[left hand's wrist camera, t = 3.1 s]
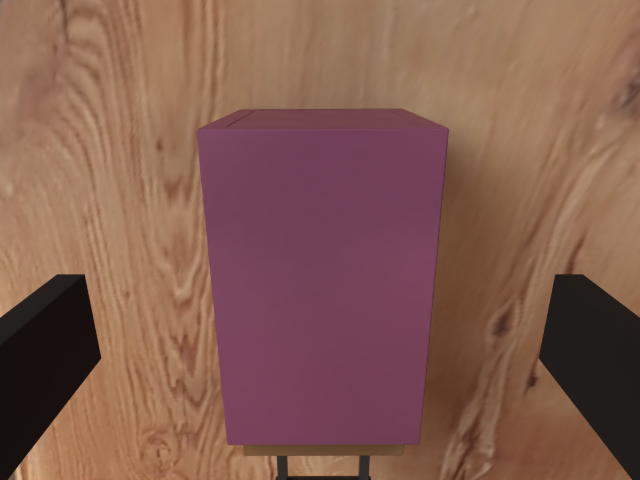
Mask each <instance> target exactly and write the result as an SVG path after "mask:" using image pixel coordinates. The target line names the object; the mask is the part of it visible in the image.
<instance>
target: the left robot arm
mask: <svg viewBox="0 0 640 480" xmlns="http://www.w3.org/2000/svg"><path fill="white" fill-rule="evenodd" d="M100 359H101V354H100V349H99V344H98V339H97V334H96V329H95V324H94V319H93V314H92V309H91V304H90V299H89V294H88V289H87V284H86V279H85V274H57V275H56V276H54V277H53V278H52V279H51V280H49V281H48V282H47V283H45V284H44V285H43V286H41V287H40V288H39V289H37V290H36V291H35V292H33V293H32V294H31V295H29V296H28V297H27V298H26V299H24V300H23V301H22V302H20V303H19V304H18V305H16V306H15V307H14V308H12V309H11V310H10V311H8V312H7V313H6V314H5V315H3V316H2V317H1V318H0V480H8V479H9V477H10V476H11V475H12V473H13V472H14V471H15V470H16V468H17V467H18V466H19V464H20V463H21V462H22V460H23V459H24V458H25V457H26V455H27V454H28V453H29V451H30V450H31V449H32V447H33V446H34V445H35V444H36V442H37V441H38V440H39V438H40V437H41V436H42V434H43V433H44V432H45V431H46V429H47V428H48V427H49V425H50V424H51V423H52V422H53V420H54V419H55V418H56V416H57V415H58V414H59V412H60V411H61V410H62V409H63V407H64V406H65V405H66V403H67V402H68V401H69V399H70V398H71V397H72V396H73V394H74V393H75V392H76V390H77V389H78V388H79V387H80V385H81V384H82V383H83V381H84V380H85V379H86V377H87V376H88V375H89V374H90V372H91V371H92V370H93V368H94V367H95V366H96V364H97V363H98V362H99V361H100ZM539 359H540V361H541V362H542V363H543V364H544V366H545V367H546V368H547V370H548V371H549V372H550V374H551V375H552V376H553V377H554V379H555V380H556V381H557V383H558V384H559V385H560V387H561V388H562V389H563V390H564V392H565V393H566V394H567V396H568V397H569V398H570V399H571V401H572V402H573V403H574V405H575V406H576V407H577V409H578V410H579V411H580V412H581V414H582V415H583V416H584V418H585V419H586V420H587V422H588V423H589V424H590V425H591V427H592V428H593V429H594V431H595V432H596V433H597V434H598V436H599V437H600V438H601V440H602V441H603V442H604V444H605V445H606V446H607V447H608V449H609V450H610V451H611V453H612V454H613V455H614V457H615V458H616V459H617V460H618V462H619V463H620V464H621V466H622V467H623V468H624V470H625V471H626V472H627V473H628V475H629V476H630V477H631V479H632V480H640V318H639V317H638V316H637V315H635V314H634V313H633V312H632V311H630V310H629V309H628V308H626V307H625V306H624V305H622V304H621V303H620V302H618V301H617V300H616V299H614V298H613V297H612V296H611V295H609V294H608V293H607V292H605V291H604V290H603V289H601V288H600V287H599V286H597V285H596V284H595V283H593V282H592V281H591V280H589V279H588V278H587V277H586V276H584V275H583V274H555V279H554V284H553V289H552V294H551V299H550V304H549V309H548V314H547V319H546V324H545V329H544V334H543V339H542V344H541V349H540V354H539Z"/></svg>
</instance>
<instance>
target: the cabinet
mask: <svg viewBox="0 0 640 480" xmlns="http://www.w3.org/2000/svg"><path fill="white" fill-rule="evenodd" d="M448 132H449V129H448V128H446V127H444V126H441V125H439V124H437V123H434V122H432V121H430V120H427V119H425V118H423V117H420V116H418V115H416V114H413V113H411V112H409V111H406V110H404V109H254V110H239V111H237V112H235V113H232V114H230V115H228V116H226V117H223V118H221V119H219V120H217V121H215V122H212V123H210V124H208V125H206V126H204V127H202V128H200V129H197V141H198V151H199V161H200V171H201V181H202V191H203V202H204V212H205V222H206V232H207V242H208V253H209V263H210V273H211V283H212V293H213V303H214V314H215V324H216V334H217V344H218V354H219V365H220V375H221V385H222V395H223V405H224V415H225V426H226V436H227V444H228V445H393V444H419V443H420V434H421V423H422V412H423V402H424V391H425V380H426V369H427V359H428V348H429V337H430V326H431V315H432V305H433V294H434V283H435V272H436V262H437V251H438V240H439V229H440V219H441V208H442V197H443V186H444V175H445V165H446V154H447V143H448Z"/></svg>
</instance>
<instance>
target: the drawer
mask: <svg viewBox="0 0 640 480" xmlns="http://www.w3.org/2000/svg"><path fill="white" fill-rule="evenodd" d="M403 449H404V444H393V445H243V452H244V456H277V469H278V476H277V477H276V480H371V477H370V476H369V460H370V455H403ZM343 455H359V476H288V465H287V456H343Z"/></svg>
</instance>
